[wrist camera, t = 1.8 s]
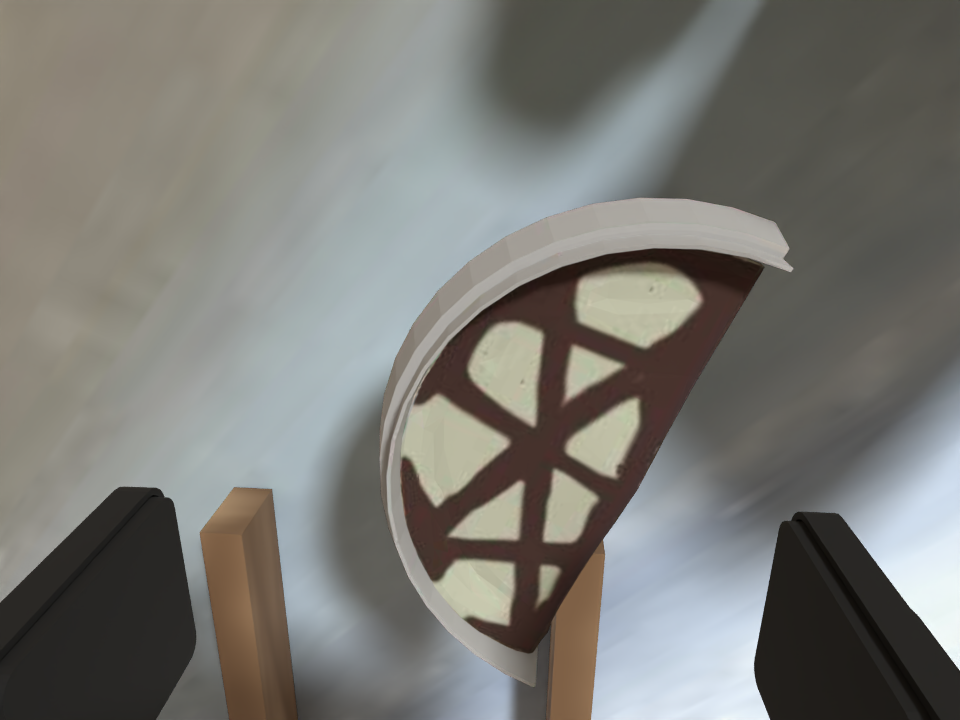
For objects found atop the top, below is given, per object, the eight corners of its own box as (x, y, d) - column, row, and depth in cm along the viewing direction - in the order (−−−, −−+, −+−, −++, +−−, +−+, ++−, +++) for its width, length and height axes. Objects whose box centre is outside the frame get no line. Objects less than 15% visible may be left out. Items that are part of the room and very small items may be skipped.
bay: (598, 505, 26) (604, 554, 24) (573, 815, 32) (576, 883, 30) (234, 487, 27) (199, 532, 25) (275, 791, 33) (251, 855, 31)
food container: (516, 94, 22) (497, 97, 12) (696, 177, 22) (810, 242, 13) (378, 423, 26) (287, 609, 17) (530, 486, 26) (525, 703, 17)
